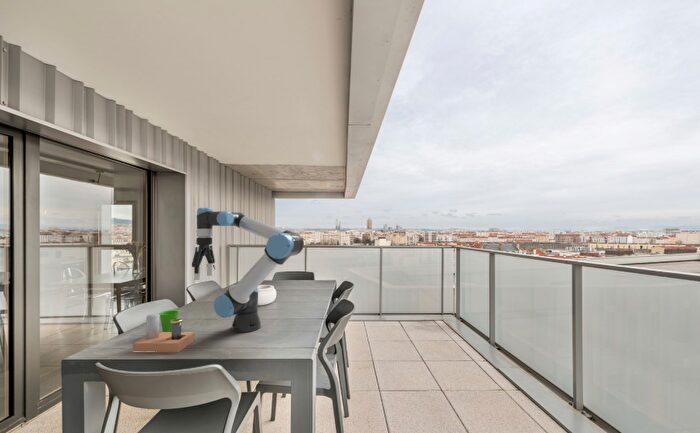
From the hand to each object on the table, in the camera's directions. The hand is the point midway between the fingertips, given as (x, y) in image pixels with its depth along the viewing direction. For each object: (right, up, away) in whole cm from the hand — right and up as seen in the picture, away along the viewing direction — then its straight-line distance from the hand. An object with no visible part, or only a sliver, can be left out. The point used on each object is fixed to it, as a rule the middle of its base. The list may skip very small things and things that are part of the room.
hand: (203, 277), depth 155 cm
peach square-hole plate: (-9, -28, -18) cm, 34 cm away
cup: (-17, -29, -2) cm, 34 cm away
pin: (-4, -28, -18) cm, 33 cm away
